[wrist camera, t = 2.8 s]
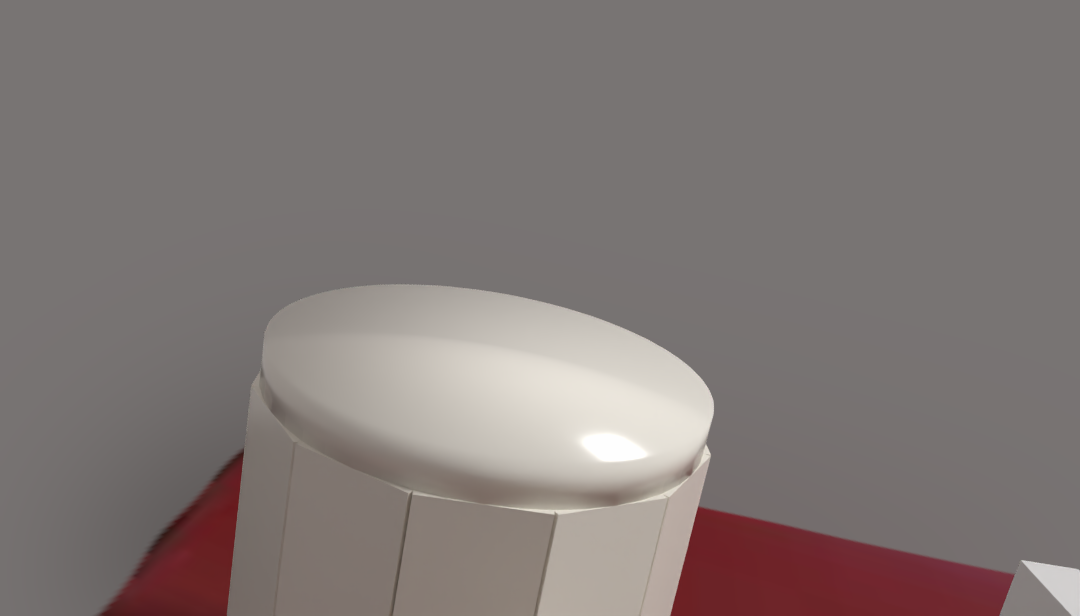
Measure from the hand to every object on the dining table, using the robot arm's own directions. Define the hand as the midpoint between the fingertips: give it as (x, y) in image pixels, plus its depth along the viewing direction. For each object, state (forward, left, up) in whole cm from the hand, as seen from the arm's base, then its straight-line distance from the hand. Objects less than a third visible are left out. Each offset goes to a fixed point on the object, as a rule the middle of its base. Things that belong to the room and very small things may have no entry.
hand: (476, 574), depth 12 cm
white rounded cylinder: (0, -11, -13) cm, 17 cm away
